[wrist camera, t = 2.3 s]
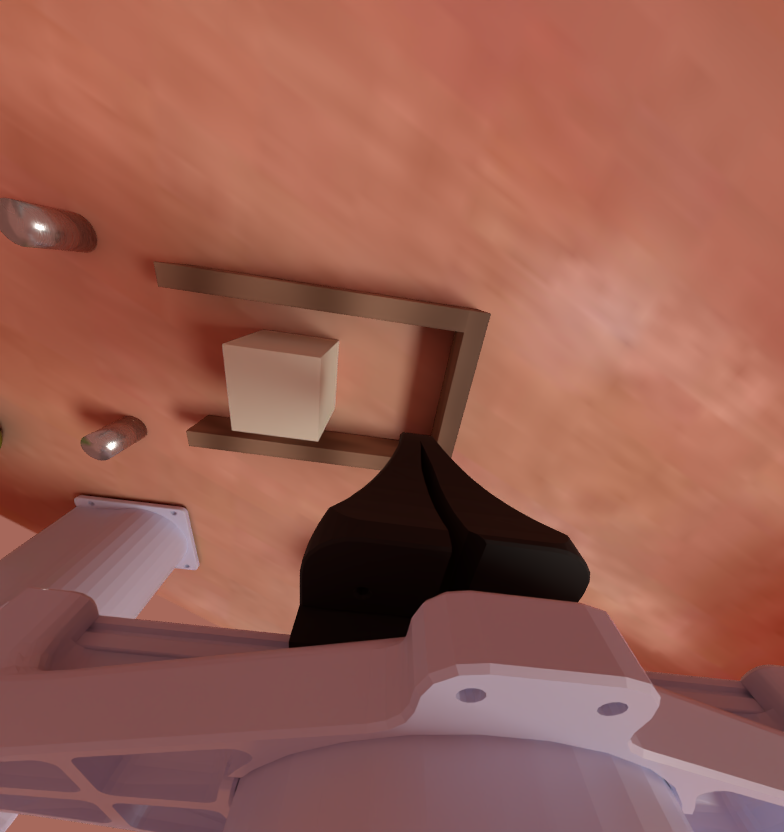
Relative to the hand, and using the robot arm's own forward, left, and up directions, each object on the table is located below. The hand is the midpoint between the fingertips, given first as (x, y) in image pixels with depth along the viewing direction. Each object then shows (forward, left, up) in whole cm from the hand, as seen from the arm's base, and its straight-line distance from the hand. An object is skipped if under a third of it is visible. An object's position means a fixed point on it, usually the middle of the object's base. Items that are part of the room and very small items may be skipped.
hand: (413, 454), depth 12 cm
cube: (-8, 0, -9) cm, 12 cm away
